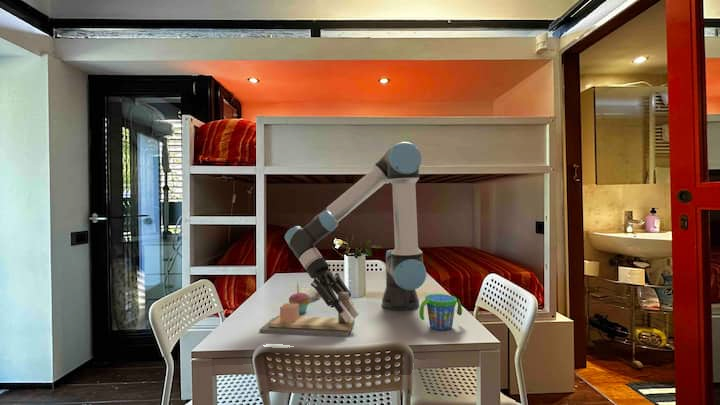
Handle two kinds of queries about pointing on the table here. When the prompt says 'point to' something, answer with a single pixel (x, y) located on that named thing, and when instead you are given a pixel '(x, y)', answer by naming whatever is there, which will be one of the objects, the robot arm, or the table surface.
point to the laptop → (311, 293)
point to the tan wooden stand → (319, 319)
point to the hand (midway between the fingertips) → (352, 318)
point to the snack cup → (440, 310)
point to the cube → (289, 313)
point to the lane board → (304, 331)
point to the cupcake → (300, 300)
